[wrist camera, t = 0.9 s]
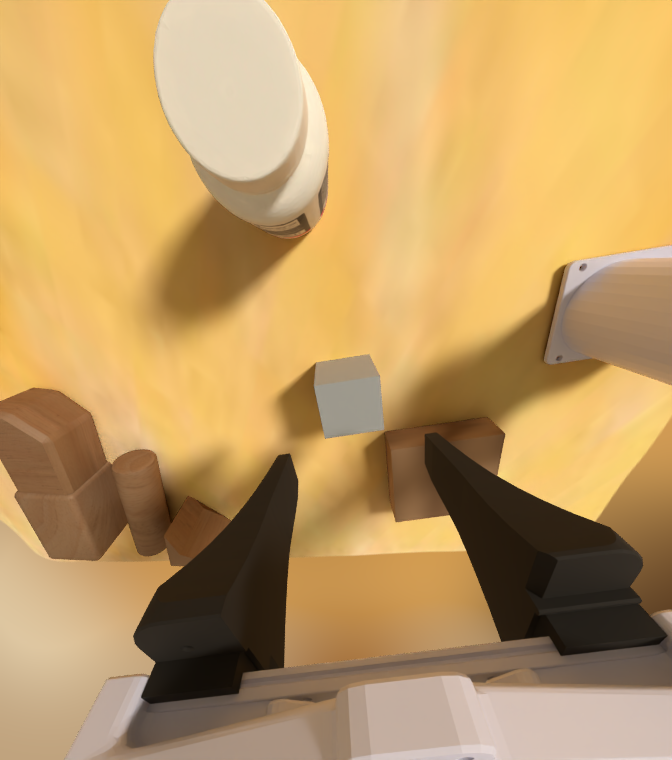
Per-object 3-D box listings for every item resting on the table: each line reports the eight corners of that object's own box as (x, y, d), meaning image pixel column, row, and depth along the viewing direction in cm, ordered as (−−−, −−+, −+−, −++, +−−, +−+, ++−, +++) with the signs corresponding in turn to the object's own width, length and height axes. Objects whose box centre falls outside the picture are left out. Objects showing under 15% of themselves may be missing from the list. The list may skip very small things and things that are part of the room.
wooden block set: (40, 577, 23) (-60, 421, 16) (92, 520, 28) (35, 382, 21) (224, 584, 25) (212, 445, 17) (241, 529, 30) (238, 404, 22)
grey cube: (368, 353, 20) (379, 375, 16) (373, 399, 22) (384, 429, 18) (316, 362, 20) (313, 386, 16) (325, 407, 22) (325, 438, 18)
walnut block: (484, 414, 24) (505, 433, 21) (474, 485, 28) (490, 509, 25) (383, 429, 24) (391, 450, 21) (389, 497, 28) (395, 522, 26)
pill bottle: (272, 107, 14) (176, -174, 5) (345, 183, 15) (371, 72, 6) (226, 198, 15) (92, 109, 7) (296, 257, 17) (263, 250, 8)
